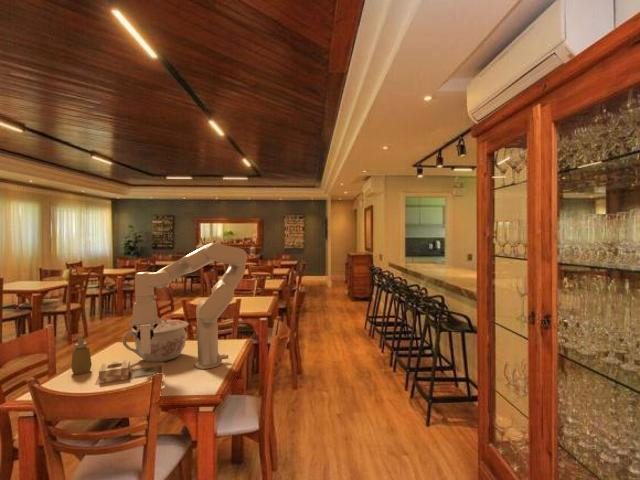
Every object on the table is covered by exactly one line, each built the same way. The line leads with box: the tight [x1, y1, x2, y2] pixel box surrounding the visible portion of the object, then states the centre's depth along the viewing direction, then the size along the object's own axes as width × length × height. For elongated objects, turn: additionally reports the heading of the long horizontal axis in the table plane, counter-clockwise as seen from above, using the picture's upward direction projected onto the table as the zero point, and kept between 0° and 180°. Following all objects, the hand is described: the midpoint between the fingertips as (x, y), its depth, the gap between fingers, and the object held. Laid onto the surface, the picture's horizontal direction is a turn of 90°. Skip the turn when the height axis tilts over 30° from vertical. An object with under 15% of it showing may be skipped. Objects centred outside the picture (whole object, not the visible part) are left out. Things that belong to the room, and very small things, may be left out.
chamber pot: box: [121, 317, 190, 363], centre depth 196 cm, size 28×28×21 cm
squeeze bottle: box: [70, 335, 93, 376], centre depth 175 cm, size 8×8×18 cm
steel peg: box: [140, 325, 151, 354], centre depth 173 cm, size 4×4×12 cm
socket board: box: [94, 359, 163, 386], centre depth 170 cm, size 26×13×6 cm, turn 113°
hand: (145, 338), depth 173 cm, fingers closed on steel peg, 4 cm apart
